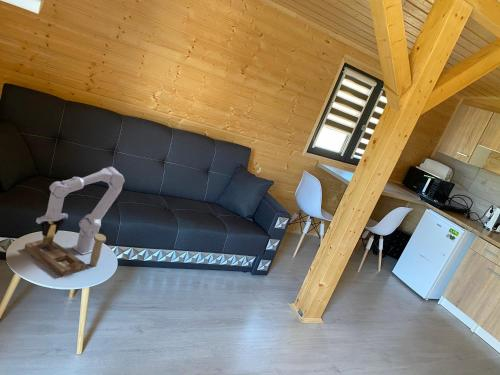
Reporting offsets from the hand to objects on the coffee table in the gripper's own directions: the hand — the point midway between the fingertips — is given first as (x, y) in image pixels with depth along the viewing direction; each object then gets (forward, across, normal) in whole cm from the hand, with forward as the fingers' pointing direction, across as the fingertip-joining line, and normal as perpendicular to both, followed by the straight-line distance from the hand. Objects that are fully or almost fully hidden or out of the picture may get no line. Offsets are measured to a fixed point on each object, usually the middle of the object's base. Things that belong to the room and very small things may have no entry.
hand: (49, 234), depth 175 cm
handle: (+10, -12, +18) cm, 24 cm away
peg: (+4, 0, 0) cm, 4 cm away
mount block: (+10, 0, +6) cm, 12 cm away
